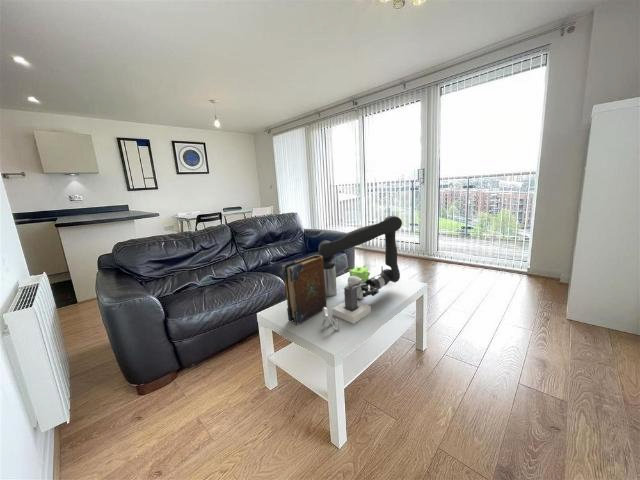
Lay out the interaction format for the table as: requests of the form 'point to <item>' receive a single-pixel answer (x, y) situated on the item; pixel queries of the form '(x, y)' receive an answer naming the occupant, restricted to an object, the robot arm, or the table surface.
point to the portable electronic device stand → (326, 317)
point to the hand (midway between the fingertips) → (356, 293)
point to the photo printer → (355, 280)
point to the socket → (350, 315)
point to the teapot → (360, 273)
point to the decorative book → (304, 288)
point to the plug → (351, 297)
